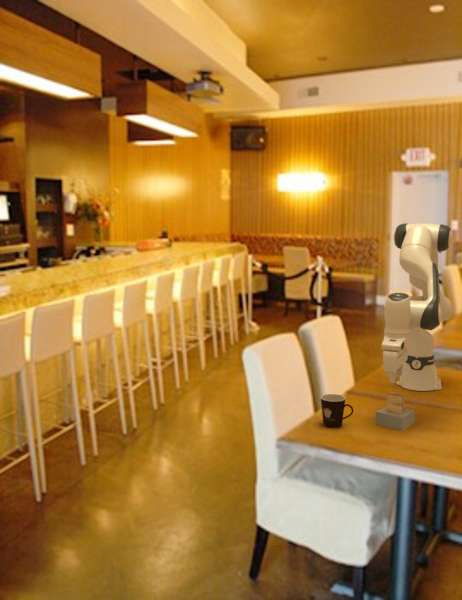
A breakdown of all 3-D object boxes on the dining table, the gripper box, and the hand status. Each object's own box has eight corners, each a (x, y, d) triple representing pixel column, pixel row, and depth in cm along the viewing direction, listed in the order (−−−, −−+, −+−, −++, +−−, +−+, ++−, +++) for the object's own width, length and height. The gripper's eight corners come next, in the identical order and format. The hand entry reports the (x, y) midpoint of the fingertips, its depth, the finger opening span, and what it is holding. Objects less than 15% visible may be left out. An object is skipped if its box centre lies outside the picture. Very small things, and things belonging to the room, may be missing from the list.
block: (388, 417, 220) (388, 404, 219) (414, 423, 213) (414, 410, 213) (375, 425, 212) (375, 411, 212) (402, 431, 206) (402, 417, 205)
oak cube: (389, 407, 216) (389, 391, 215) (403, 409, 213) (404, 393, 212) (386, 412, 211) (386, 395, 210) (401, 414, 209) (401, 397, 208)
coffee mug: (315, 423, 214) (315, 395, 213) (336, 419, 218) (336, 392, 216) (333, 433, 204) (334, 405, 202) (354, 429, 207) (355, 401, 206)
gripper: (395, 333, 219) (394, 370, 221) (380, 345, 201) (379, 385, 203) (412, 335, 216) (411, 372, 218) (399, 347, 198) (398, 387, 200)
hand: (395, 378), depth 211 cm, fingers open, 8 cm apart
